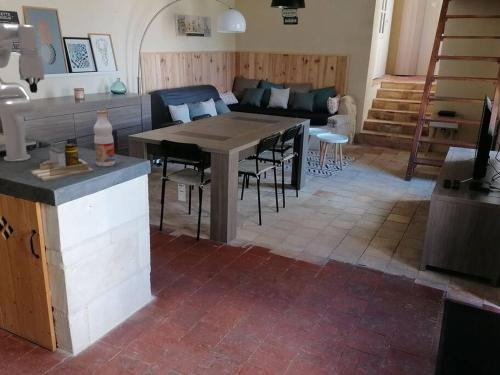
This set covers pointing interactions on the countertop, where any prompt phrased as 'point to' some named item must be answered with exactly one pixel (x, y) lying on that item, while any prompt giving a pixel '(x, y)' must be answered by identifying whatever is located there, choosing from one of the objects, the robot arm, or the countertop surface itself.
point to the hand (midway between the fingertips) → (33, 92)
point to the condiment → (71, 155)
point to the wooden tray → (61, 171)
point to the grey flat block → (57, 158)
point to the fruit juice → (103, 141)
